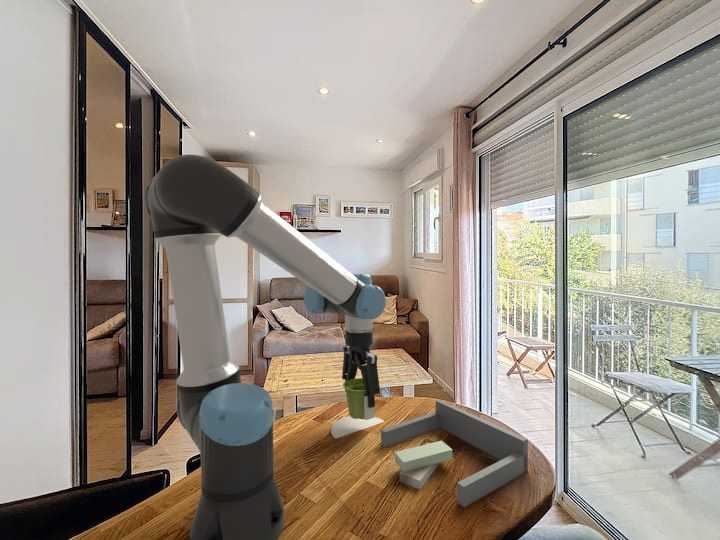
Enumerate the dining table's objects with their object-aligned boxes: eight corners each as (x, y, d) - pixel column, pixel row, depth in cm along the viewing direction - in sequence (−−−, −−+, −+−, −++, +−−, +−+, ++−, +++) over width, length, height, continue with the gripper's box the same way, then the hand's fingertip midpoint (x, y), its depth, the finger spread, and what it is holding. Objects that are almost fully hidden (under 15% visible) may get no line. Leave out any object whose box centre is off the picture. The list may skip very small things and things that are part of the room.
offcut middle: (399, 482, 68) (399, 473, 68) (427, 450, 80) (426, 442, 80) (420, 490, 65) (420, 480, 65) (445, 456, 77) (445, 448, 77)
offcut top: (394, 461, 72) (394, 452, 72) (441, 449, 76) (441, 440, 76) (403, 472, 68) (403, 462, 68) (452, 458, 73) (452, 449, 73)
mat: (349, 452, 81) (349, 450, 81) (321, 426, 95) (321, 424, 95) (401, 434, 90) (401, 432, 90) (368, 412, 103) (368, 410, 103)
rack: (464, 514, 60) (463, 470, 60) (381, 450, 82) (380, 417, 82) (527, 476, 71) (527, 439, 71) (439, 428, 93) (439, 399, 93)
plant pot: (384, 415, 92) (384, 384, 91) (358, 426, 86) (357, 393, 85) (362, 405, 99) (362, 375, 99) (336, 414, 93) (336, 383, 93)
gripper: (393, 334, 85) (394, 423, 85) (351, 323, 103) (352, 396, 103) (369, 338, 81) (370, 431, 81) (329, 326, 99) (330, 402, 99)
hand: (360, 412), depth 92 cm, fingers closed on plant pot, 8 cm apart
